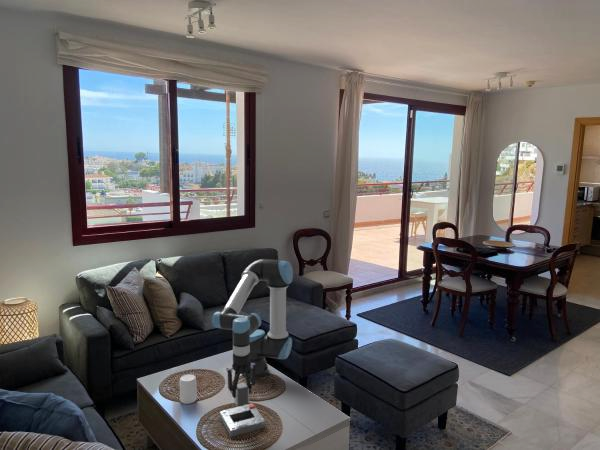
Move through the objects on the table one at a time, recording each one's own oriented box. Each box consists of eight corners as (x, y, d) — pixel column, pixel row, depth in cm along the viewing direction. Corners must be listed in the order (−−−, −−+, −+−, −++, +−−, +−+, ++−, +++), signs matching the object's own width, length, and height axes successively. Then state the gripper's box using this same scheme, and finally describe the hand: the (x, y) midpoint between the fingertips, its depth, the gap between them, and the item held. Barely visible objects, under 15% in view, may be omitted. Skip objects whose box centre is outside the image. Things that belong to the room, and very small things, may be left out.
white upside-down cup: (192, 405, 215) (191, 382, 213) (177, 403, 216) (176, 380, 214) (199, 396, 222) (199, 374, 221) (184, 395, 224) (183, 372, 222)
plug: (244, 399, 203) (244, 381, 202) (248, 404, 199) (248, 386, 198) (235, 401, 201) (235, 384, 200) (238, 406, 197) (238, 388, 196)
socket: (252, 408, 213) (252, 401, 212) (265, 427, 198) (265, 419, 198) (219, 417, 205) (219, 410, 205) (230, 437, 191) (230, 429, 191)
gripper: (256, 346, 204) (256, 393, 207) (219, 353, 196) (220, 402, 199) (263, 352, 197) (262, 401, 201) (224, 360, 189) (225, 411, 193)
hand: (241, 402), depth 200 cm, fingers closed on plug, 4 cm apart
